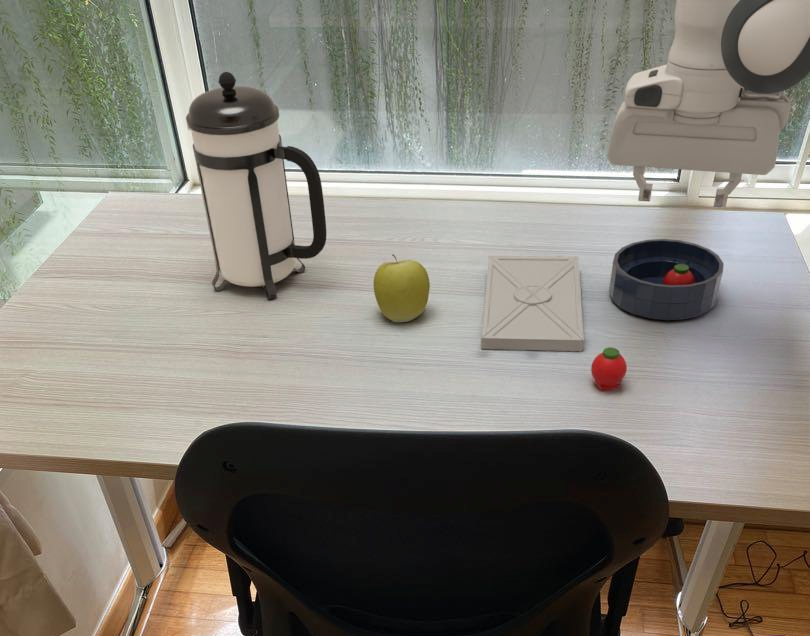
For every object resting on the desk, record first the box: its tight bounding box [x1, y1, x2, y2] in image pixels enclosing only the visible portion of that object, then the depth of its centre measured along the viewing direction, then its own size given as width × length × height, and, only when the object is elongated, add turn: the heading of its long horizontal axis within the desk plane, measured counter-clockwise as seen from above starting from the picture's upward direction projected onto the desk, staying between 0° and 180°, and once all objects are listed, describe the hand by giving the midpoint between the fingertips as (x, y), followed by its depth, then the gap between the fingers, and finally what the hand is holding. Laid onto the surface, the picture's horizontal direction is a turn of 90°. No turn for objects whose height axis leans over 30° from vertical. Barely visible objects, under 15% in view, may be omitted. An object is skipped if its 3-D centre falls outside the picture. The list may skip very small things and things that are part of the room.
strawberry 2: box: [590, 347, 628, 392], centre depth 111 cm, size 4×4×5 cm
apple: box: [373, 254, 431, 323], centre depth 125 cm, size 8×8×10 cm
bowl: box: [608, 238, 725, 321], centre depth 127 cm, size 15×15×6 cm
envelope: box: [480, 255, 584, 352], centre depth 127 cm, size 24×2×14 cm
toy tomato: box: [663, 264, 695, 285], centre depth 125 cm, size 4×4×5 cm
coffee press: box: [185, 71, 327, 300], centre depth 128 cm, size 17×16×30 cm
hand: (681, 202), depth 113 cm, fingers open, 8 cm apart
